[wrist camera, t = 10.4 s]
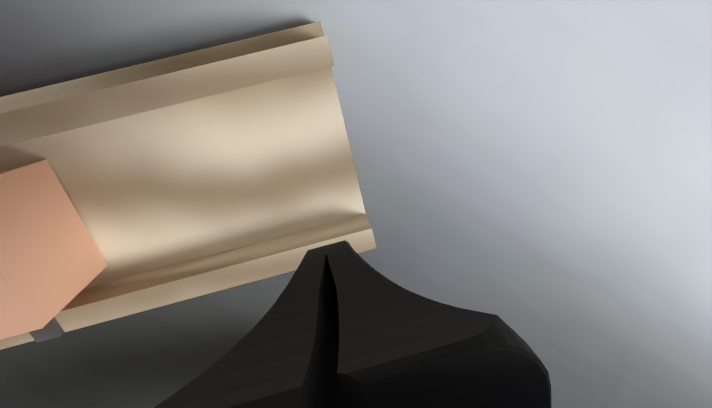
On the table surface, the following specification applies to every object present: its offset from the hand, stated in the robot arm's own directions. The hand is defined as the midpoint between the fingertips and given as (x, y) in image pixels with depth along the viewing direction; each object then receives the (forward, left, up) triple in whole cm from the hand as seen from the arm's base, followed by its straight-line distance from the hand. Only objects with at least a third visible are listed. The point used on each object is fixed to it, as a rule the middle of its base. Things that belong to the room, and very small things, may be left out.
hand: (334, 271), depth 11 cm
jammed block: (+2, +15, -8) cm, 17 cm away
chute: (+2, +10, -9) cm, 14 cm away
